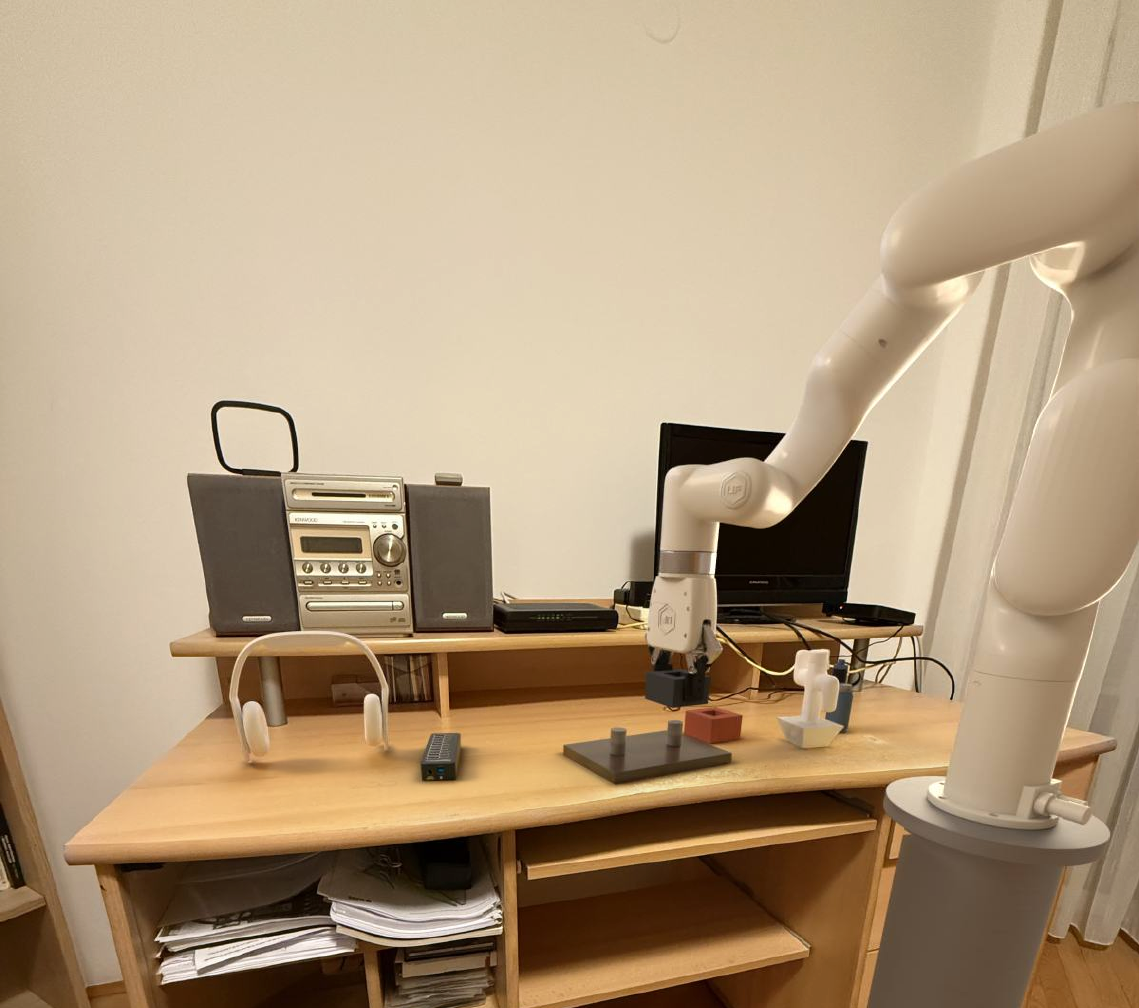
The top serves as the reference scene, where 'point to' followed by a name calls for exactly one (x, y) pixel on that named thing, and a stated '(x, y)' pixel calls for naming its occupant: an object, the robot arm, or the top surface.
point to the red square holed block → (713, 724)
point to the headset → (252, 715)
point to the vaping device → (842, 697)
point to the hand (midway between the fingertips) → (676, 694)
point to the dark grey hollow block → (671, 688)
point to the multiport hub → (441, 757)
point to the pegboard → (645, 754)
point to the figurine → (813, 701)
